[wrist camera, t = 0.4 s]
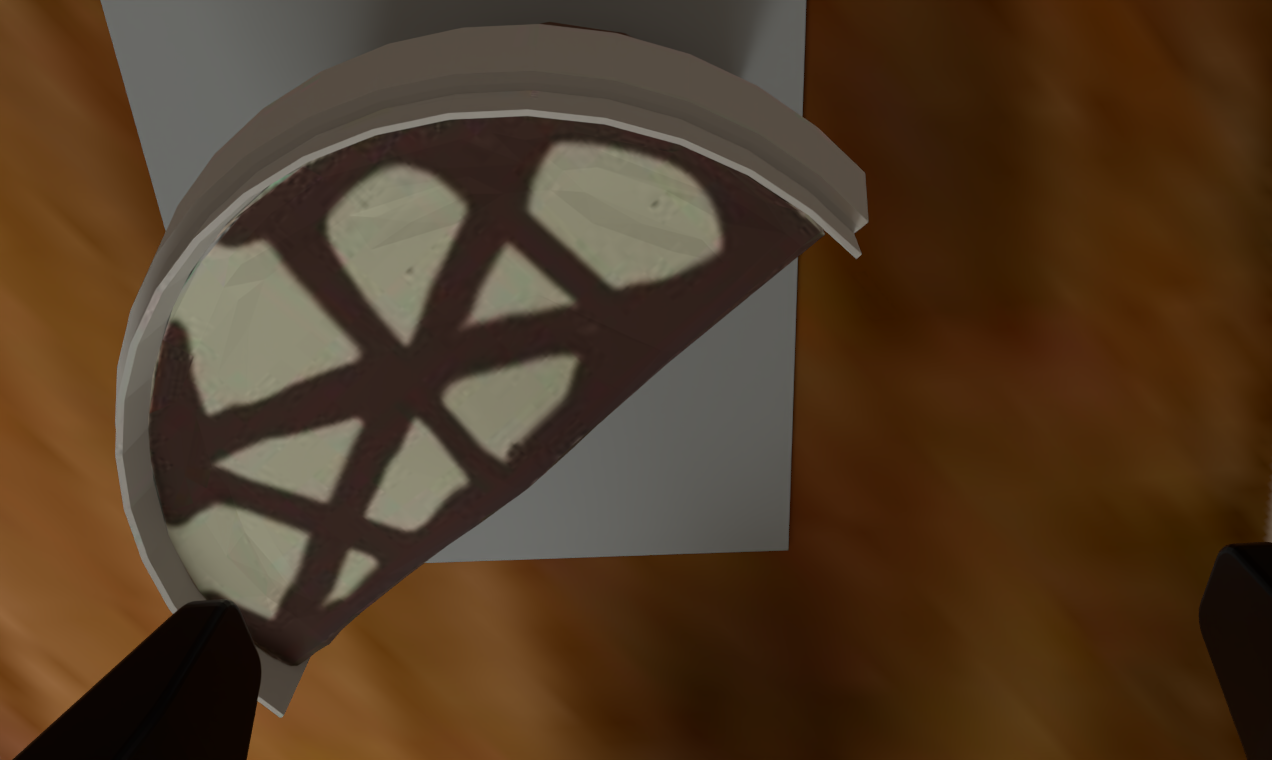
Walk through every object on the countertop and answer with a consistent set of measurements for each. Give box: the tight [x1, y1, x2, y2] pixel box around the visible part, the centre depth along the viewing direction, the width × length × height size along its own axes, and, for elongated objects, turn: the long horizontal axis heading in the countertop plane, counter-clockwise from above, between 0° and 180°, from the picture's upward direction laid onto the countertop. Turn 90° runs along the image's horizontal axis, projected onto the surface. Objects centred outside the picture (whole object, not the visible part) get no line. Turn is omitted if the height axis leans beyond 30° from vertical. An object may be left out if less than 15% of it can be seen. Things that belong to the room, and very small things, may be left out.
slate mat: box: [101, 0, 806, 563], centre depth 23 cm, size 15×14×1 cm
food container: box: [115, 22, 868, 718], centre depth 17 cm, size 12×6×10 cm, turn 133°
